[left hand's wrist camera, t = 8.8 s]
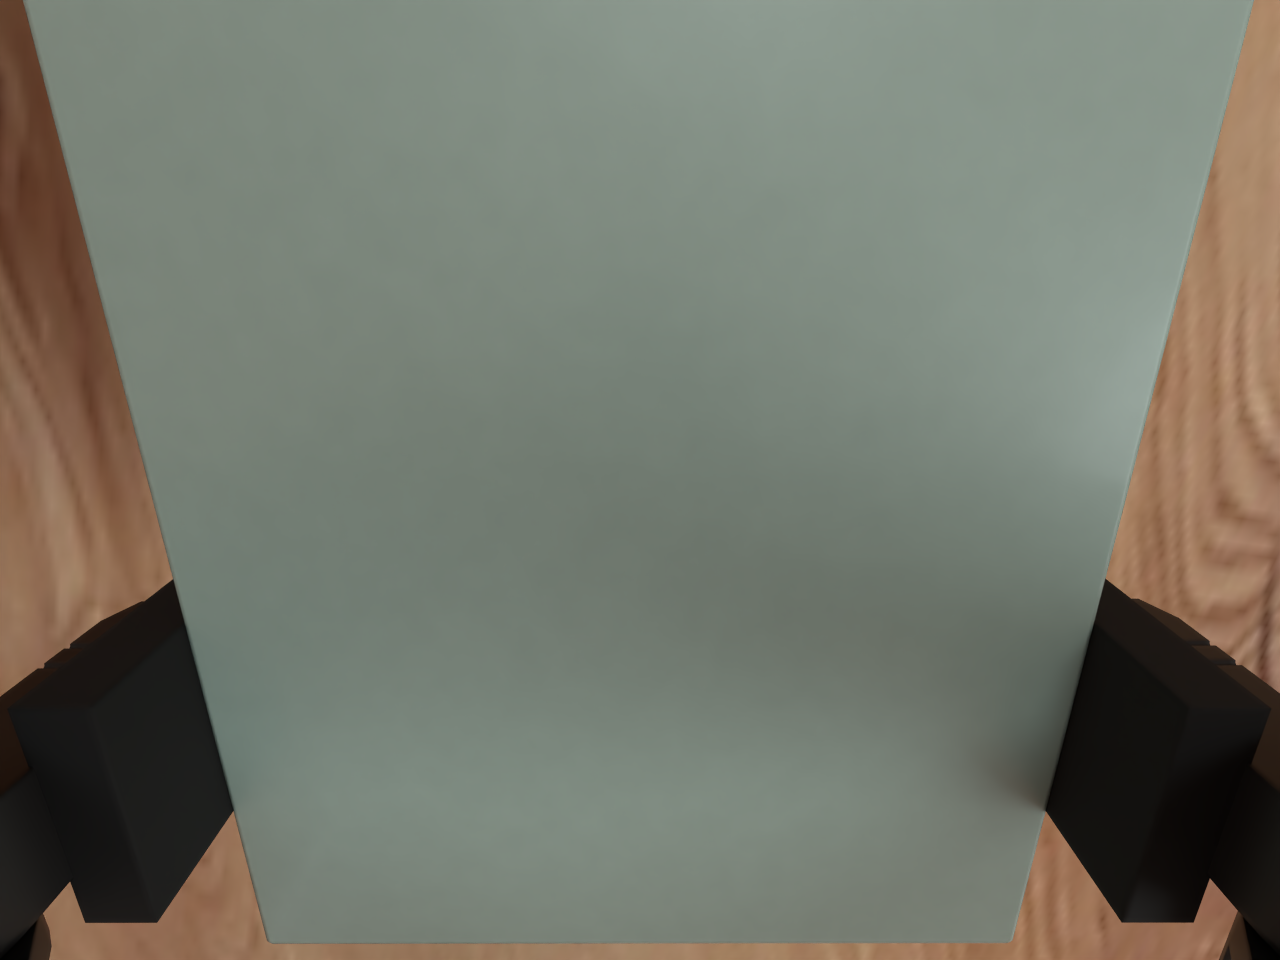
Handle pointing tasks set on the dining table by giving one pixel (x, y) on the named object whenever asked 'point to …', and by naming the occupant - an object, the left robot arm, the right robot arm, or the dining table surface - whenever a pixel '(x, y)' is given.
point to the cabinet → (638, 432)
